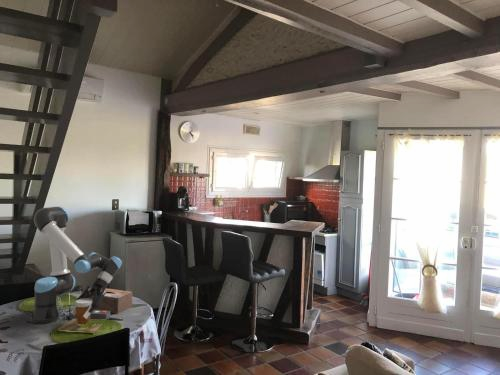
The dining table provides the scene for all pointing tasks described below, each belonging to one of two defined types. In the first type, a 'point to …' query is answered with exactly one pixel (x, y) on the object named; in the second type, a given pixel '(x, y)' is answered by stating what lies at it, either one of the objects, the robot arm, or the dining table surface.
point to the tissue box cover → (115, 301)
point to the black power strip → (97, 315)
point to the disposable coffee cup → (82, 310)
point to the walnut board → (74, 326)
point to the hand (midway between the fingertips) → (78, 315)
